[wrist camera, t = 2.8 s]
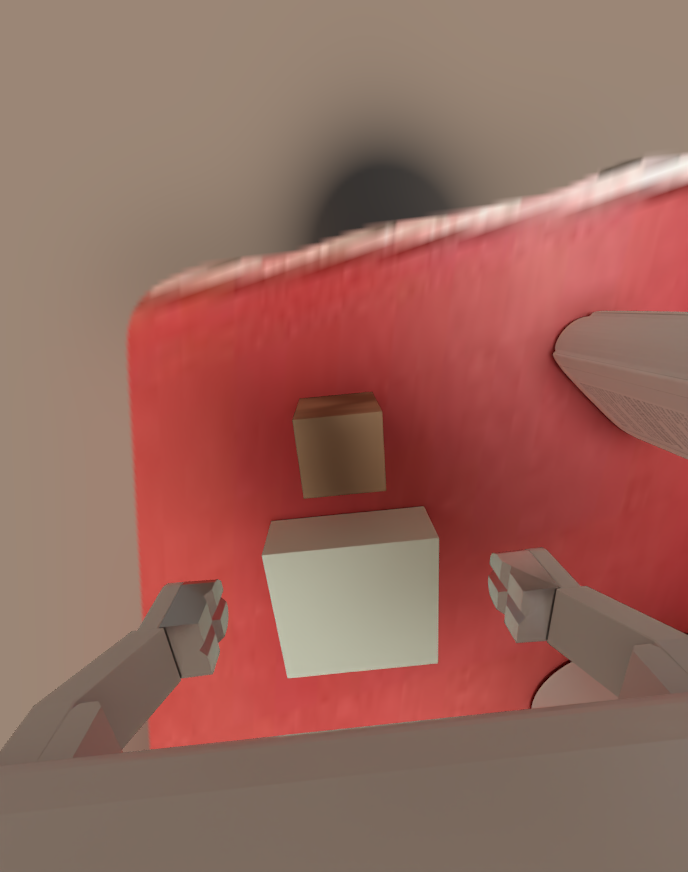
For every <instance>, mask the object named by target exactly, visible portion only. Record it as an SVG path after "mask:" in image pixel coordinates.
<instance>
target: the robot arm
mask: <svg viewBox="0 0 688 872" xmlns="http://www.w3.org/2000/svg"><path fill="white" fill-rule="evenodd" d="M490 565H491V567H492V568H493V571H492V572H491V573H490V575H489V576H488V587H489V593H490V596H491V599H492V601H493V603H494V605H495V607H496V609H497V610H499V611H500V612H502V613H503V614H505V620H504V623H505V624H506V626H507V628H508V630H509V631H510V633H511V635H512V636H513V638H514V640H515V641H516V643H523V642H536V641H547V643H549V644H550V645H551V646H552V647H554V648H555V649H556V650H558V651H559V652H560V653H561V654H563V655H564V656H565V657H567V658H568V659H569V660H570V661H572V662H571V663H569V664H567V665H565V666H564V667H562V668H561V669H559V670H558V671H557V672H555V673H554V674H553V675H552V676H551V677H550V678H548V679H547V680H546V682H545V683H544V684H543V685H542V686H541V688H540V689H539V690H538V692H537V694H536V696H535V698H534V700H533V703H532V708H531V709H523V710H513V711H504V712H495V713H486V714H477V715H468V716H458V717H449V718H440V719H431V720H421V721H412V722H403V723H393V724H384V725H375V726H365V727H356V728H347V729H337V730H328V731H319V732H309V733H300V734H291V735H281V736H272V737H263V738H253V739H244V740H235V741H226V742H216V743H207V744H198V745H188V746H179V747H170V748H160V749H151V750H142V751H133V752H123V751H122V749H123V748H124V747H125V746H126V744H127V743H128V742H129V741H130V740H131V738H132V737H133V736H134V735H135V734H136V733H137V732H138V730H139V729H140V728H141V727H142V725H143V724H144V723H145V722H146V721H147V720H148V719H149V717H150V716H151V715H152V714H153V713H154V712H155V710H156V709H157V708H158V707H159V706H160V704H161V703H162V702H163V701H164V700H165V699H166V697H167V696H168V695H169V694H170V693H171V692H172V690H173V689H174V688H175V687H176V686H177V685H178V683H179V682H180V681H181V678H188V677H195V676H203V675H210V674H213V672H214V669H215V666H216V662H217V659H218V656H219V653H220V649H219V645H218V643H219V642H220V641H221V640H222V639H223V638H224V637H225V633H226V630H227V625H228V607H227V602H226V601H225V600H224V599H223V598H221V595H222V592H223V587H222V583H221V581H220V580H218V579H216V580H202V581H188V582H179V583H168V584H166V585H165V586H164V587H163V588H162V590H161V591H160V593H159V595H158V596H157V598H156V600H155V602H154V603H153V605H152V607H151V608H150V610H149V612H148V613H147V615H146V617H145V618H144V620H143V622H142V624H141V625H140V627H139V629H138V630H137V631H131V632H130V633H129V634H128V635H126V636H125V637H124V638H122V639H121V640H120V641H118V642H117V643H116V644H114V645H113V646H112V647H111V648H109V649H108V650H106V651H105V652H104V653H103V654H101V655H100V656H99V657H97V658H96V659H95V660H93V661H92V662H91V663H90V664H88V665H87V666H86V667H84V668H83V669H81V670H80V671H79V672H78V673H76V674H75V675H74V676H72V677H71V678H70V679H68V680H67V681H66V682H64V683H63V684H62V685H61V686H59V687H58V688H57V689H55V690H54V691H53V692H51V693H50V694H49V695H47V696H46V697H45V698H44V699H42V700H41V701H39V702H38V703H37V704H36V705H34V706H33V707H32V709H31V710H30V711H29V713H28V715H27V716H26V717H25V718H24V720H23V721H22V722H21V724H20V725H19V726H18V728H17V729H16V730H15V732H14V733H13V735H12V736H11V737H10V739H9V740H8V741H7V743H6V744H5V745H4V747H3V748H2V749H1V751H0V872H688V635H687V634H685V633H682V632H680V631H678V630H676V629H674V628H672V627H670V626H668V625H666V624H664V623H662V622H660V621H658V620H656V619H654V618H651V617H649V616H647V615H645V614H643V613H641V612H639V611H637V610H635V609H633V608H631V607H629V606H627V605H625V604H623V603H620V602H618V601H616V600H614V599H612V598H610V597H608V596H606V595H604V594H602V593H600V592H598V591H596V590H594V589H591V588H589V587H587V586H580V585H579V584H578V583H577V582H576V581H575V580H574V579H573V577H572V576H571V575H570V574H569V573H568V572H567V571H566V570H565V569H564V568H563V567H562V566H561V565H560V564H559V563H558V561H557V560H556V559H555V558H554V557H553V556H552V555H551V554H550V553H549V552H548V551H547V550H546V549H544V548H542V547H540V548H531V549H525V550H516V551H506V552H496V553H492V554H491V557H490Z"/></svg>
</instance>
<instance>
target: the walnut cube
mask: <svg viewBox="0 0 688 872" xmlns="http://www.w3.org/2000/svg"><path fill="white" fill-rule="evenodd" d="M292 421H293V428H294V435H295V442H296V448H297V455H298V462H299V469H300V476H301V483H302V489H303V496H304V499H305V498H316V497H326V496H337V495H347V494H358V493H368V492H379V491H386V477H385V457H384V438H383V418H382V410H381V408H380V406H379V404H378V402H377V400H376V398H375V396H374V394H373V392H363V393H353V394H342V395H332V396H321V397H311V398H300V399H299V402H298V405H297V408H296V411H295V414H294V417H293V420H292Z"/></svg>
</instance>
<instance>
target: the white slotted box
mask: <svg viewBox="0 0 688 872" xmlns="http://www.w3.org/2000/svg"><path fill="white" fill-rule="evenodd" d="M553 357H554V359H555V360H556V362H557V364H558V365H559V366H560V368H561V369H562V370H563V371H564V373H565V374H566V375H567V376H568V377H569V378H570V379H571V381H572V382H573V383H574V384H575V385H576V386H577V387H578V388H579V389H580V390H581V391H582V392H583V393H584V394H585V395H586V396H587V397H588V398H589V399H590V400H591V401H592V402H593V403H594V404H595V405H596V406H597V407H598V409H599V410H600V411H601V412H602V413H604V415H605V416H606V417H608V418H609V419H610V420H611V421H612V422H613V423H614V424H615V425H616V426H618V427H619V428H620V429H622V430H623V431H625V432H626V433H628V434H630V435H632V436H633V437H635V438H638V439H640V440H642V441H645V442H647V443H650V444H652V445H655V446H657V447H659V448H662V449H664V450H667V451H669V452H671V453H674V454H676V455H678V456H681V457H683V458H686V459H688V312H659V311H597V312H593V313H592V314H591V315H590V316H587V317H582V318H579V319H577V320H575V321H574V322H572V323H571V324H569V325H568V326H567V327H566V328H565V329H564V330H563V332H562V333H561V334H560V336H559V338H558V340H557V342H556V345H555V352H554V353H553Z"/></svg>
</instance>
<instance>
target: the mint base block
mask: <svg viewBox="0 0 688 872" xmlns="http://www.w3.org/2000/svg"><path fill="white" fill-rule="evenodd" d="M262 559H263V564H264V568H265V573H266V578H267V583H268V587H269V592H270V597H271V602H272V606H273V611H274V616H275V621H276V625H277V630H278V635H279V640H280V644H281V649H282V654H283V659H284V663H285V668H286V673H287V678H296V677H306V676H316V675H326V674H336V673H346V672H356V671H366V670H376V669H386V668H396V667H406V666H416V665H426V664H436V663H438V601H439V537H438V535H437V533H436V530H435V528H434V526H433V524H432V522H431V520H430V518H429V516H428V514H427V512H426V509H425V507H424V506H420V507H410V508H400V509H390V510H379V511H369V512H359V513H349V514H339V515H328V516H318V517H308V518H298V519H287V520H277V521H271V524H270V527H269V531H268V535H267V538H266V542H265V545H264V549H263V553H262Z"/></svg>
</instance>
